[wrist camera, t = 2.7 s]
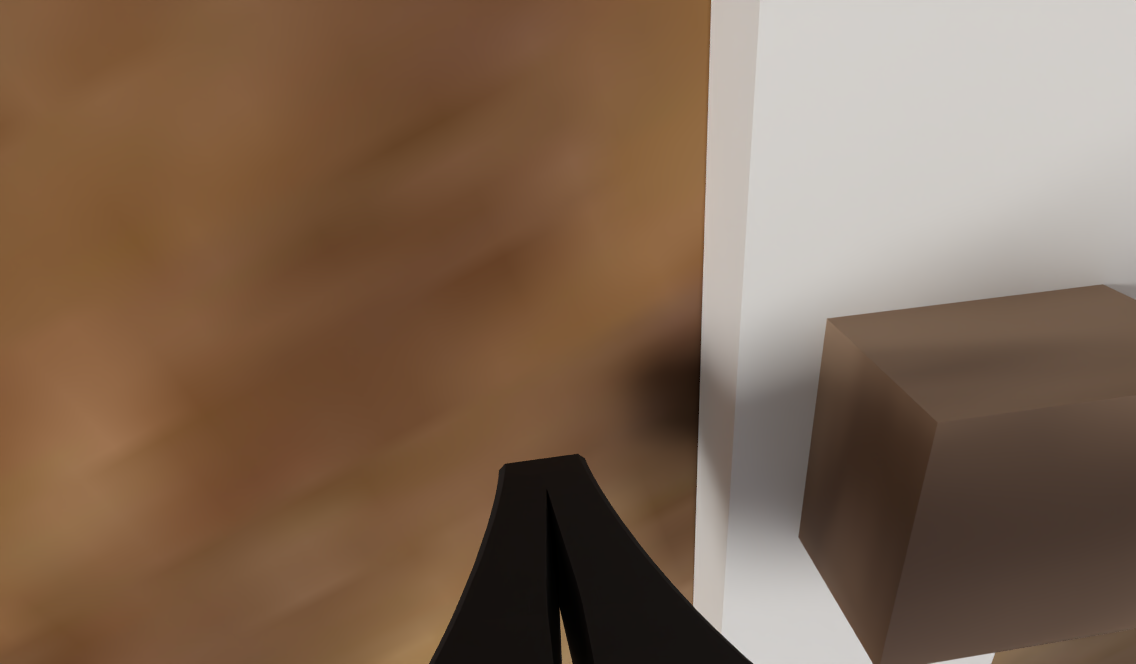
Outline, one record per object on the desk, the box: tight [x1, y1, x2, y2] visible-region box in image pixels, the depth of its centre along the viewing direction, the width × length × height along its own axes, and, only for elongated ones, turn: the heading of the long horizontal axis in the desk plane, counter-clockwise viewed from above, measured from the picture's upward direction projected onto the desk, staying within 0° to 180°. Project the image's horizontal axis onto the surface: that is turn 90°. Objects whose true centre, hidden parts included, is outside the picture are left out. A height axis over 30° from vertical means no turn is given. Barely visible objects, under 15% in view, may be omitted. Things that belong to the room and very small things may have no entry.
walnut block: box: [798, 284, 1136, 664], centre depth 11 cm, size 5×5×3 cm
